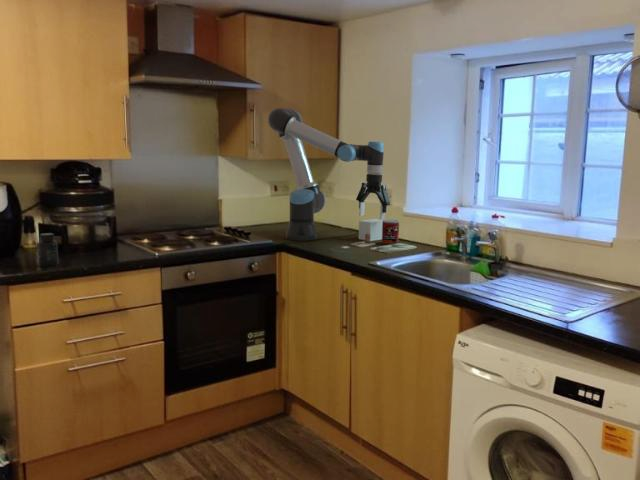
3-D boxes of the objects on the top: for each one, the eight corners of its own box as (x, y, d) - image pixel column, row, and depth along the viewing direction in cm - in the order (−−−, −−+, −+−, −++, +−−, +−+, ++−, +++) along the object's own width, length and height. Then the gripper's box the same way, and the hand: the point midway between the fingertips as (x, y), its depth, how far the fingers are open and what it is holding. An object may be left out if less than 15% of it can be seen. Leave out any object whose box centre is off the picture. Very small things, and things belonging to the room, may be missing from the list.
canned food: (380, 244, 285) (381, 221, 283) (383, 241, 293) (383, 219, 291) (397, 245, 283) (398, 222, 281) (399, 242, 291) (399, 219, 289)
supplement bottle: (36, 264, 231) (34, 233, 229) (55, 262, 235) (54, 232, 233) (41, 268, 225) (39, 236, 223) (60, 266, 229) (59, 234, 227)
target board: (370, 249, 272) (370, 247, 271) (399, 244, 285) (399, 242, 285) (387, 253, 264) (387, 250, 264) (416, 248, 278) (416, 245, 278)
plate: (351, 245, 282) (351, 235, 281) (365, 242, 288) (366, 232, 288) (360, 247, 277) (360, 236, 277) (375, 244, 284) (375, 234, 283)
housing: (358, 238, 299) (359, 220, 297) (374, 236, 307) (375, 218, 305) (370, 241, 293) (370, 222, 292) (385, 238, 301) (386, 220, 300)
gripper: (350, 171, 301) (348, 214, 305) (388, 176, 283) (386, 221, 287) (361, 171, 306) (358, 213, 310) (399, 175, 288) (396, 220, 292)
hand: (371, 217), depth 298 cm, fingers open, 13 cm apart
